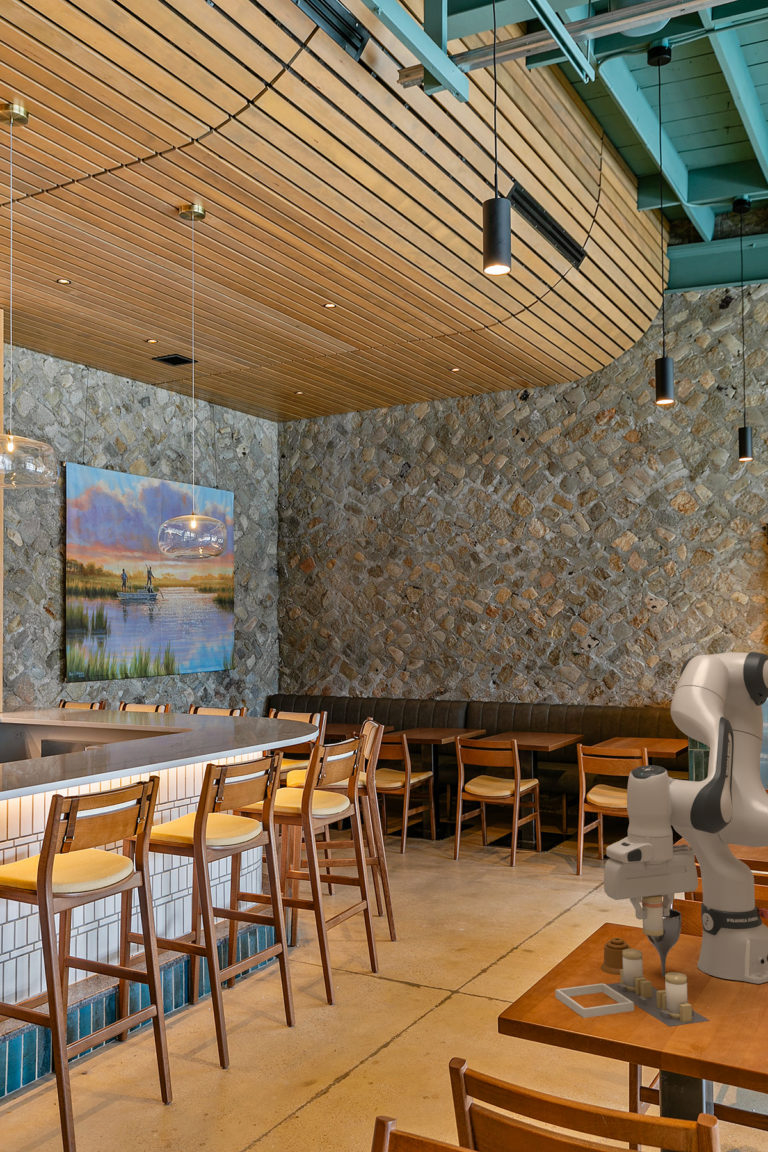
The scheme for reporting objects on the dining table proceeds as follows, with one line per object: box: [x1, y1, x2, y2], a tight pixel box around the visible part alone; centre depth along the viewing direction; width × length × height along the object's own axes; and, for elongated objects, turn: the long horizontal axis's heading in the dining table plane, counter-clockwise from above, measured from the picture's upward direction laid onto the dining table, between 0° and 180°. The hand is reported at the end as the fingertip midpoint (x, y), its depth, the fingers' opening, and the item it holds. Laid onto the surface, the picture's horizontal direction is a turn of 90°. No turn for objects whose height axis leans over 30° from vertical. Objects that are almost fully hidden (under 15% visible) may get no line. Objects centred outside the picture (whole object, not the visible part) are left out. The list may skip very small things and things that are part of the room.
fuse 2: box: [664, 971, 688, 1020], centre depth 181 cm, size 4×4×8 cm
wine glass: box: [645, 907, 682, 978], centre depth 203 cm, size 8×8×15 cm
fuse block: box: [605, 969, 711, 1028], centre depth 188 cm, size 9×23×4 cm, turn 18°
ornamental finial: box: [600, 937, 632, 976], centre depth 207 cm, size 8×8×8 cm
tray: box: [554, 982, 635, 1019], centre depth 187 cm, size 11×11×3 cm
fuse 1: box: [622, 948, 644, 992], centre depth 195 cm, size 4×4×8 cm
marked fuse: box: [641, 895, 664, 936], centre depth 189 cm, size 4×4×8 cm
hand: (652, 917), depth 189 cm, fingers closed on marked fuse, 4 cm apart
